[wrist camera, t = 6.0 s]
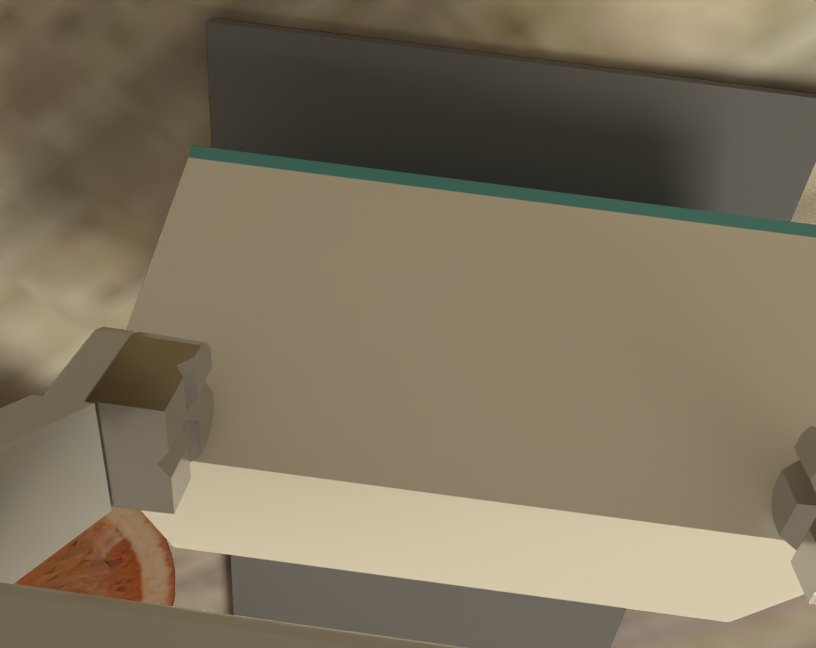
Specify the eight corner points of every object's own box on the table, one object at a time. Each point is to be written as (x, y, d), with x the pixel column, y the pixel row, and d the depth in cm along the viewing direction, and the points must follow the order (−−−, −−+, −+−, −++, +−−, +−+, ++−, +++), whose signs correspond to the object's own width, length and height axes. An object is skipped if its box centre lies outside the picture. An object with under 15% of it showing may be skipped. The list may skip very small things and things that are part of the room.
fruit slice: (-86, 431, 23) (-210, 561, 19) (66, 350, 21) (-38, 477, 17) (99, 590, 27) (28, 728, 23) (245, 535, 25) (197, 677, 20)
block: (834, 227, 14) (905, 556, 11) (705, 372, 19) (728, 622, 16) (192, 145, 14) (84, 447, 11) (238, 311, 19) (173, 547, 16)
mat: (833, 95, 15) (841, 101, 15) (574, 719, 29) (575, 729, 28) (211, 17, 16) (205, 22, 15) (239, 672, 29) (236, 682, 28)
